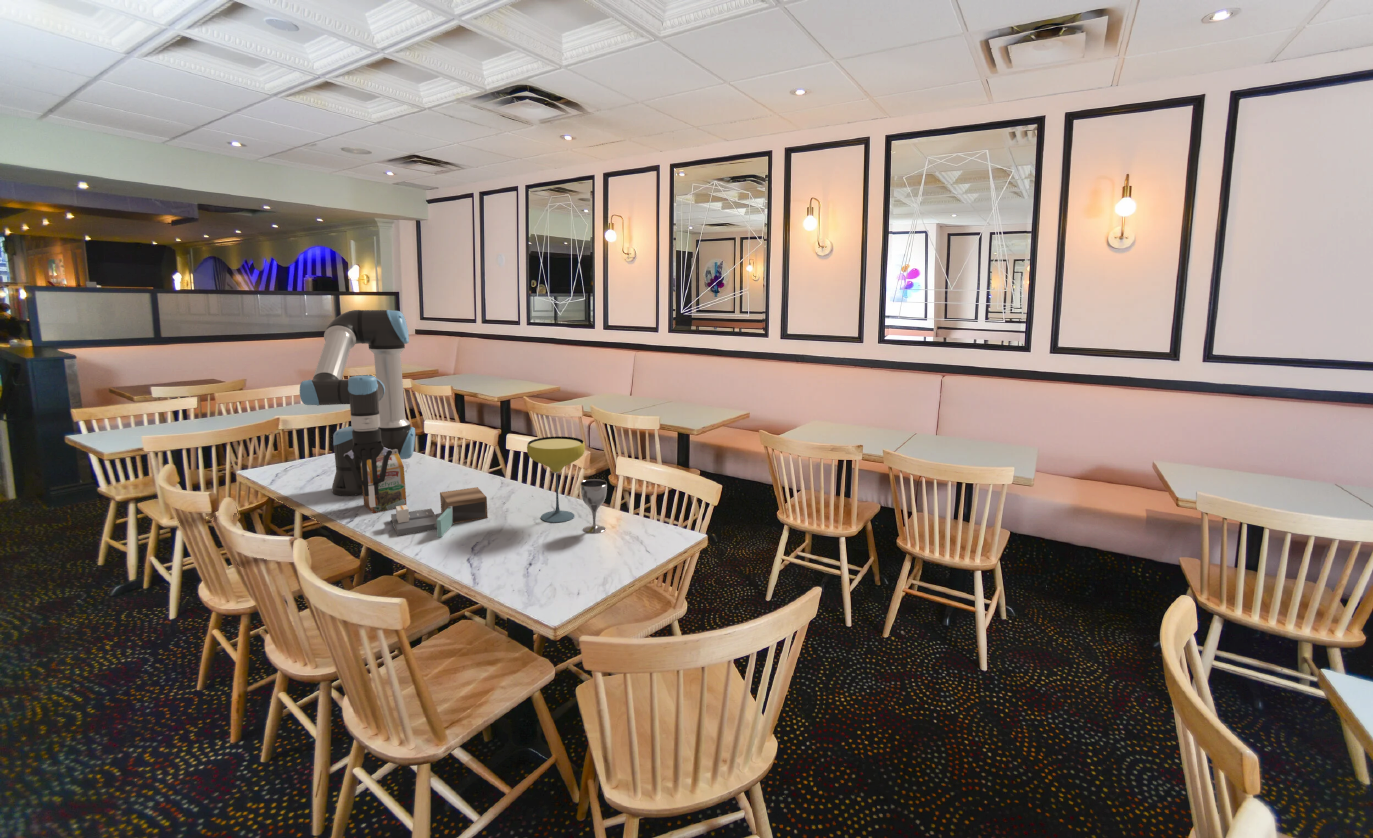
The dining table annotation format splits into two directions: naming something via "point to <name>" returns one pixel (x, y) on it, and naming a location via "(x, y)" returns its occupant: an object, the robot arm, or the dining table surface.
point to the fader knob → (402, 513)
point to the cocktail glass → (556, 464)
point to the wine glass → (593, 501)
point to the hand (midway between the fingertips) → (372, 505)
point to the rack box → (465, 504)
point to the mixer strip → (415, 522)
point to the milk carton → (387, 484)
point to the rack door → (444, 521)
